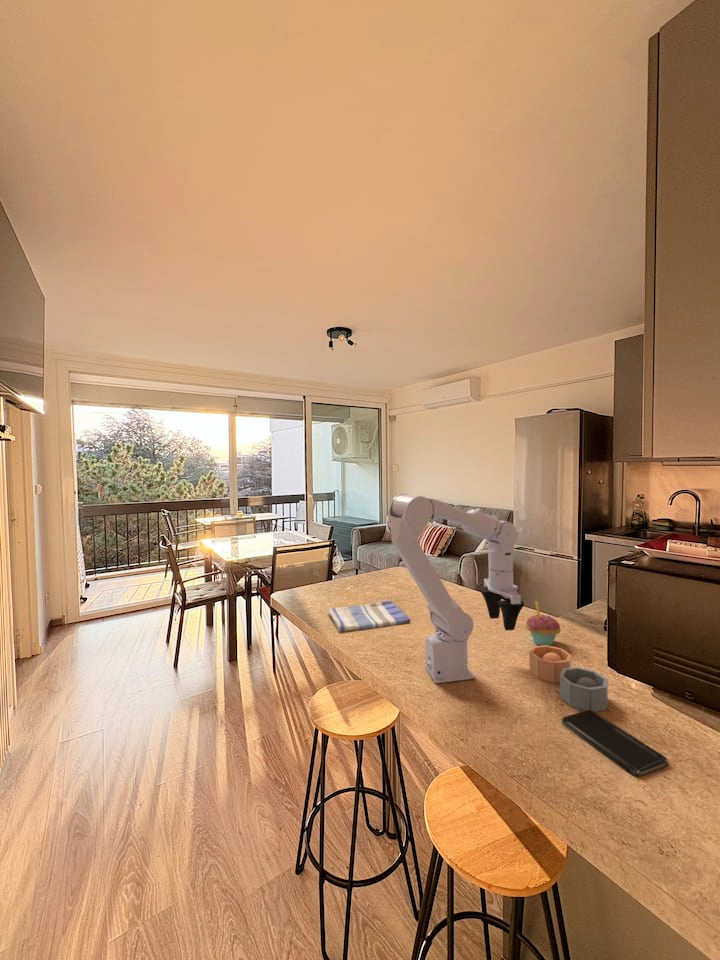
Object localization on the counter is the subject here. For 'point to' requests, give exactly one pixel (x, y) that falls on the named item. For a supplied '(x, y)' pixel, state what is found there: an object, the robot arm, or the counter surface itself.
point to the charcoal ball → (586, 682)
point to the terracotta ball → (552, 657)
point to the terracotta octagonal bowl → (548, 663)
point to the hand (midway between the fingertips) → (501, 623)
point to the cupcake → (542, 628)
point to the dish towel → (367, 616)
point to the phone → (615, 743)
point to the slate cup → (583, 689)
